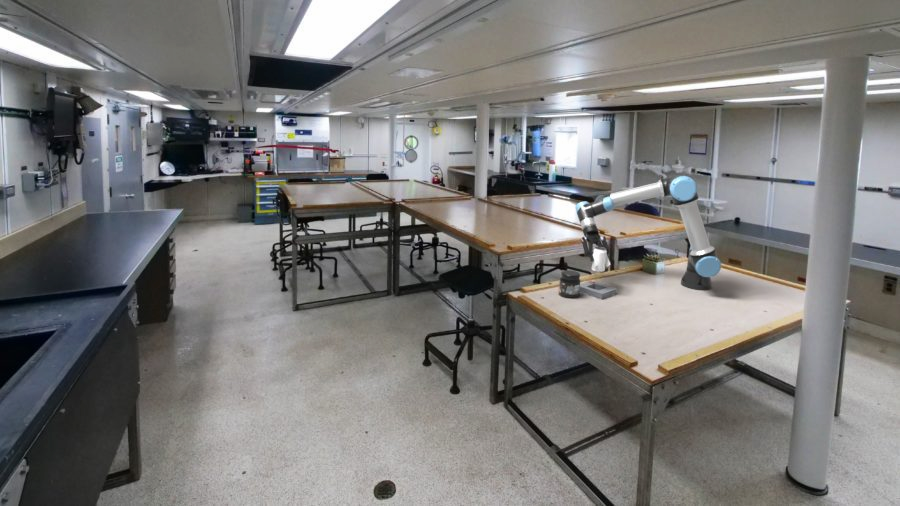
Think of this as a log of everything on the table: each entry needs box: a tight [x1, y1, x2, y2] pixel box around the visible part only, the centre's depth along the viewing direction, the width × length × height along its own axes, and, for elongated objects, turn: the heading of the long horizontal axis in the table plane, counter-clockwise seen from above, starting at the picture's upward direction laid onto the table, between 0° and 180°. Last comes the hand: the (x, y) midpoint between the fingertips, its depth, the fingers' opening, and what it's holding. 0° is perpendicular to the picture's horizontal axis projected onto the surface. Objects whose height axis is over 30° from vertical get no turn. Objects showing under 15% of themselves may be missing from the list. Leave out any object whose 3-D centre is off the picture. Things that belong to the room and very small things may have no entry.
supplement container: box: [558, 269, 581, 299], centre depth 239 cm, size 10×10×12 cm
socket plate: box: [579, 279, 618, 300], centre depth 245 cm, size 16×13×4 cm
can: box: [591, 246, 607, 273], centre depth 240 cm, size 6×6×12 cm
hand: (602, 266), depth 238 cm, fingers closed on can, 6 cm apart
